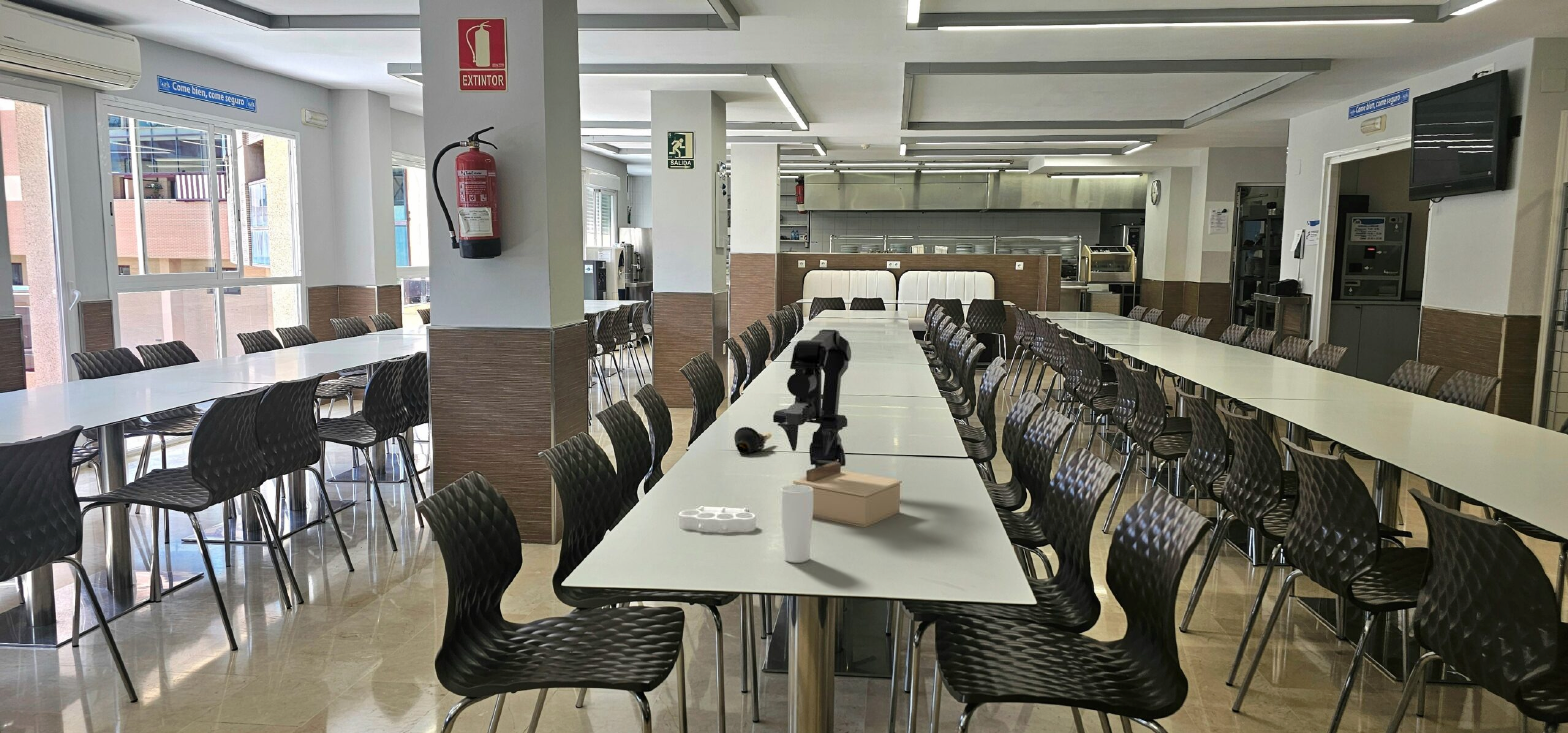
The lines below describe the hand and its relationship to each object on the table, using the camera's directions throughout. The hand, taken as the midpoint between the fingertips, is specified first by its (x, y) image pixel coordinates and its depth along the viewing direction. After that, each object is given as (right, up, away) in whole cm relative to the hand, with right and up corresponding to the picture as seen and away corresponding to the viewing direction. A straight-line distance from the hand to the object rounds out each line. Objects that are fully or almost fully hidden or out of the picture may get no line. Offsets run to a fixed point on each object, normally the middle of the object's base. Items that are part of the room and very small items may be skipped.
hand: (809, 452), depth 232 cm
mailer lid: (+9, -7, -7) cm, 13 cm away
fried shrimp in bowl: (-16, -6, +66) cm, 68 cm away
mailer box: (+9, -14, -6) cm, 18 cm away
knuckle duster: (-22, -16, -17) cm, 31 cm away
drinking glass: (-4, -18, -41) cm, 45 cm away
